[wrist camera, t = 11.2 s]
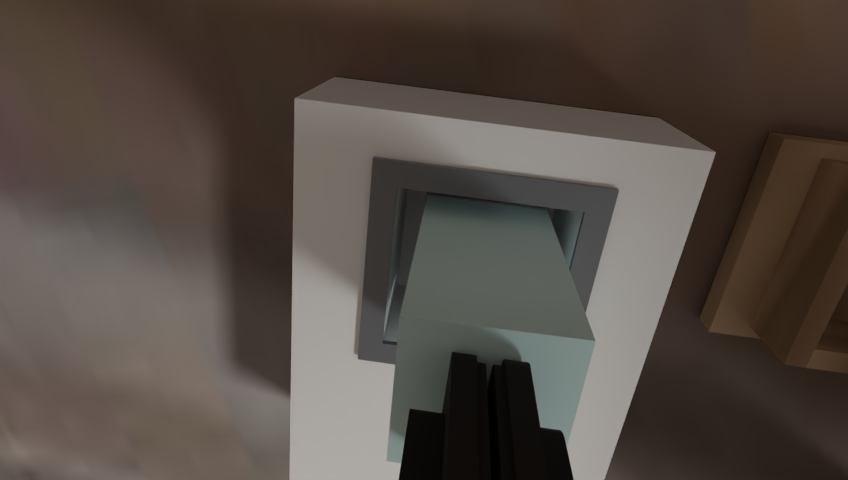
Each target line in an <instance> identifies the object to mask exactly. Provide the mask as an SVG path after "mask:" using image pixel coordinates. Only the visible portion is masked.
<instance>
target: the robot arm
mask: <svg viewBox="0 0 848 480" xmlns="http://www.w3.org/2000/svg"><path fill="white" fill-rule="evenodd" d="M399 480H574V479H573V474H572V470H571V465H570V460H569V456H568V451H567V446H566V442H565V438H564V435H563V433H562V431H561V430H555V429H549V428H542V427H540V421H539V415H538V409H537V403H536V397H535V391H534V385H533V379H532V373H531V367H530V363H529V362H522V361H515V360H508V359H504V360H503V362H502V365H495V364H493V366H492V370H491V375H490V380H489V385H488V390H487V372H486V363H481V362H477V355H472V354H465V353H458V352H452V354H451V359H450V365H449V372H448V378H447V384H446V390H445V397H444V403H443V409H442V413H437V412H431V411H424V410H417V409H409V415H408V422H407V428H406V435H405V441H404V448H403V455H402V461H401V468H400V474H399Z"/></svg>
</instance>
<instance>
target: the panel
mask: <svg viewBox="0 0 848 480" xmlns="http://www.w3.org/2000/svg"><path fill="white" fill-rule="evenodd" d="M715 154H716V152H715V151H713V150H711V149H710V148H708V147H706V146H705V145H703V144H701V143H700V142H698V141H696V140H695V139H693V138H691V137H690V136H688V135H686V134H685V133H683V132H681V131H680V130H678V129H676V128H675V127H673V126H671V125H670V124H668V123H666V122H665V121H663V120H661V119H660V118H655V117H647V116H639V115H631V114H623V113H616V112H608V111H600V110H592V109H584V108H576V107H568V106H561V105H553V104H545V103H537V102H529V101H521V100H513V99H505V98H498V97H490V96H482V95H474V94H466V93H458V92H450V91H443V90H435V89H427V88H419V87H411V86H403V85H395V84H388V83H380V82H372V81H364V80H356V79H348V78H340V77H334V78H332V79H330V80H328V81H326V82H324V83H322V84H320V85H318V86H317V87H315V88H313V89H311V90H309V91H307V92H305V93H303V94H301V95H300V96H298V97H296V98H295V101H294V179H293V256H292V333H291V411H290V480H399V474H400V468H401V463H396V462H389V461H386V459H387V448H388V437H389V426H390V416H391V405H392V394H393V383H394V372H395V362H396V351H397V340H398V329H399V318H400V313H401V308H402V304H403V300H404V295H405V291H406V286H407V282H408V278H409V273H410V269H411V265H412V260H413V256H414V252H415V247H416V243H417V239H418V234H419V230H420V225H421V221H422V217H423V212H424V208H425V199H426V192H434V193H441V194H449V195H456V196H464V197H471V198H479V199H486V200H494V201H502V202H509V203H517V204H524V205H532V206H539V207H547V208H549V211H548V214H549V216H550V219H551V222H552V225H553V227H554V230H555V233H556V235H557V238H558V241H559V243H560V246H561V249H562V251H563V254H564V257H565V260H566V262H567V265H568V268H569V270H570V273H571V276H572V278H573V281H574V284H575V287H576V289H577V292H578V295H579V297H580V300H581V303H582V305H583V308H584V311H585V313H586V316H587V319H588V322H589V324H590V327H591V330H592V332H593V335H594V338H595V340H596V342H595V346H594V349H593V353H592V357H591V360H590V364H589V368H588V371H587V375H586V379H585V382H584V386H583V390H582V393H581V397H580V401H579V404H578V408H577V412H576V415H575V419H574V423H573V426H572V430H571V434H570V437H569V441H568V445H567V451H568V456H569V460H570V465H571V470H572V474H573V479H574V480H604V479H605V476H606V473H607V471H608V468H609V465H610V462H611V459H612V456H613V453H614V450H615V447H616V444H617V441H618V438H619V435H620V432H621V429H622V427H623V424H624V421H625V418H626V415H627V412H628V409H629V406H630V403H631V400H632V397H633V394H634V391H635V388H636V386H637V383H638V380H639V377H640V374H641V371H642V368H643V365H644V362H645V359H646V356H647V353H648V350H649V347H650V344H651V342H652V339H653V336H654V333H655V330H656V327H657V324H658V321H659V318H660V315H661V312H662V309H663V306H664V303H665V300H666V298H667V295H668V292H669V289H670V286H671V283H672V280H673V277H674V274H675V271H676V268H677V265H678V262H679V259H680V257H681V254H682V251H683V248H684V245H685V242H686V239H687V236H688V233H689V230H690V227H691V224H692V221H693V218H694V215H695V213H696V210H697V207H698V204H699V201H700V198H701V195H702V192H703V189H704V186H705V183H706V180H707V177H708V174H709V171H710V169H711V166H712V163H713V160H714V157H715Z"/></svg>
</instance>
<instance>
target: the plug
mask: <svg viewBox="0 0 848 480" xmlns="http://www.w3.org/2000/svg"><path fill="white" fill-rule="evenodd" d="M548 211H549V208H547V207H539V206H532V205H524V204H517V203H509V202H502V201H494V200H486V199H479V198H471V197H464V196H456V195H449V194H441V193H434V192H426V199H425V208H424V212H423V217H422V221H421V225H420V230H419V234H418V239H417V243H416V247H415V252H414V256H413V260H412V265H411V269H410V273H409V278H408V282H407V286H406V291H405V295H404V300H403V304H402V308H401V313H400V318H399V329H398V340H397V351H396V362H395V372H394V383H393V394H392V405H391V416H390V426H389V437H388V448H387V459H386V461H389V462H396V463H401V461H402V455H403V448H404V441H405V435H406V428H407V422H408V415H409V409H417V410H424V411H431V412H437V413H442V409H443V403H444V397H445V390H446V384H447V378H448V372H449V365H450V359H451V354H452V352H458V353H465V354H472V355H477V362H481V363H486V372H487V390H488V385H489V380H490V375H491V370H492V366H493V364H495V365H502V362H503V360H504V359H508V360H515V361H522V362H529V363H530V367H531V373H532V379H533V385H534V391H535V397H536V403H537V409H538V415H539V421H540V427H542V428H549V429H555V430H561V431H562V433H563V435H564V438H565V442H566V446H567V445H568V441H569V437H570V434H571V430H572V426H573V423H574V419H575V415H576V412H577V408H578V404H579V401H580V397H581V393H582V390H583V386H584V382H585V379H586V375H587V371H588V368H589V364H590V360H591V357H592V353H593V349H594V346H595V342H596V340H595V338H594V335H593V332H592V330H591V327H590V324H589V322H588V319H587V316H586V313H585V311H584V308H583V305H582V303H581V300H580V297H579V295H578V292H577V289H576V287H575V284H574V281H573V278H572V276H571V273H570V270H569V268H568V265H567V262H566V260H565V257H564V254H563V251H562V249H561V246H560V243H559V241H558V238H557V235H556V233H555V230H554V227H553V225H552V222H551V219H550V216H549V214H548Z"/></svg>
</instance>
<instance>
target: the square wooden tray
mask: <svg viewBox="0 0 848 480" xmlns="http://www.w3.org/2000/svg"><path fill="white" fill-rule="evenodd" d="M699 319H700V321H701V322H702V323H703V325H704V326H705V328H706V329H707V330H708V332H713V333H720V334H727V335H735V336H742V337H749V338H756V339H761V340H762V341H763V342H764V343H765V344H766V345H767V347H768V348H769V349H770V350H771V351H772V352H773V353H774V355H775V356H776V357H777V358H778V359H779V360H780V361H781V363H782V364H783V365H789V366H796V367H803V368H810V369H818V370H825V371H832V372H839V373H846V374H848V142H844V141H836V140H828V139H820V138H812V137H804V136H797V135H789V134H781V133H773V132H769V135H768V137H767V140H766V143H765V145H764V148H763V151H762V153H761V156H760V159H759V161H758V164H757V167H756V169H755V172H754V175H753V177H752V180H751V183H750V185H749V188H748V191H747V193H746V196H745V199H744V201H743V204H742V206H741V209H740V212H739V214H738V217H737V220H736V222H735V225H734V228H733V230H732V233H731V236H730V238H729V241H728V244H727V246H726V249H725V252H724V254H723V257H722V260H721V262H720V265H719V268H718V270H717V273H716V275H715V278H714V281H713V283H712V286H711V289H710V291H709V294H708V297H707V299H706V302H705V305H704V307H703V310H702V313H701V315H700V318H699Z"/></svg>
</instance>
